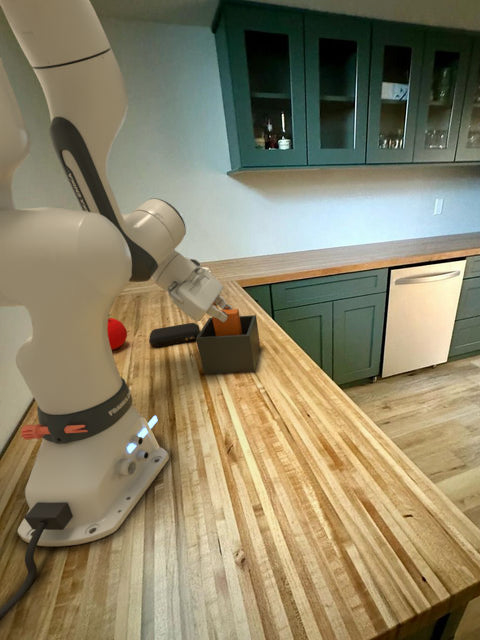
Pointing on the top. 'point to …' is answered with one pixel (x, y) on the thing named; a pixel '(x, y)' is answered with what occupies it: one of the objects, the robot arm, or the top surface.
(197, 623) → the top surface
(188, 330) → the carrying case
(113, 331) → the tomato
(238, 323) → the block
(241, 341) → the trash bin
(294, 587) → the top surface
